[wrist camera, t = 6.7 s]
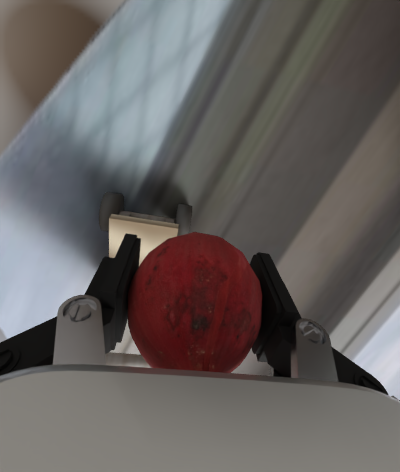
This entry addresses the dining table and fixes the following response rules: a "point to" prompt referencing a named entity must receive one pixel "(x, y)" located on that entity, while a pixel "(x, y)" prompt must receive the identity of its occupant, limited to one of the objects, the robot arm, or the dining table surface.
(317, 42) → the dining table surface
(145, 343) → the onion
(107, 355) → the trolley
